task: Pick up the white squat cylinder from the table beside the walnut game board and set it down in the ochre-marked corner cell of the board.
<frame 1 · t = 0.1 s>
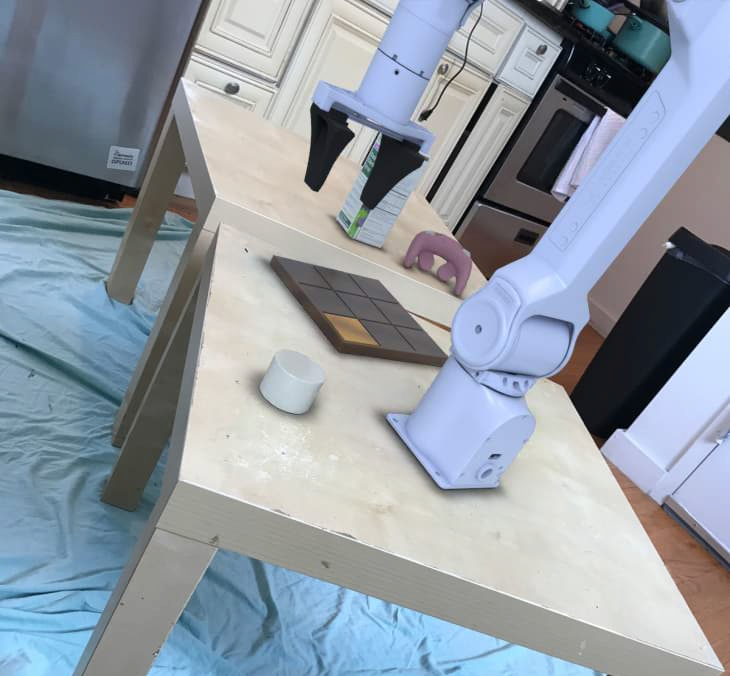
hand: (339, 196, 78), 10 cm above the table, tool pointing down, fingers open, 7 cm apart
video game controller: (430, 277, 109), on the table
syrup box: (357, 235, 107), on the table
white squat cylinder: (284, 396, 62), on the table
board: (358, 316, 83), on the table
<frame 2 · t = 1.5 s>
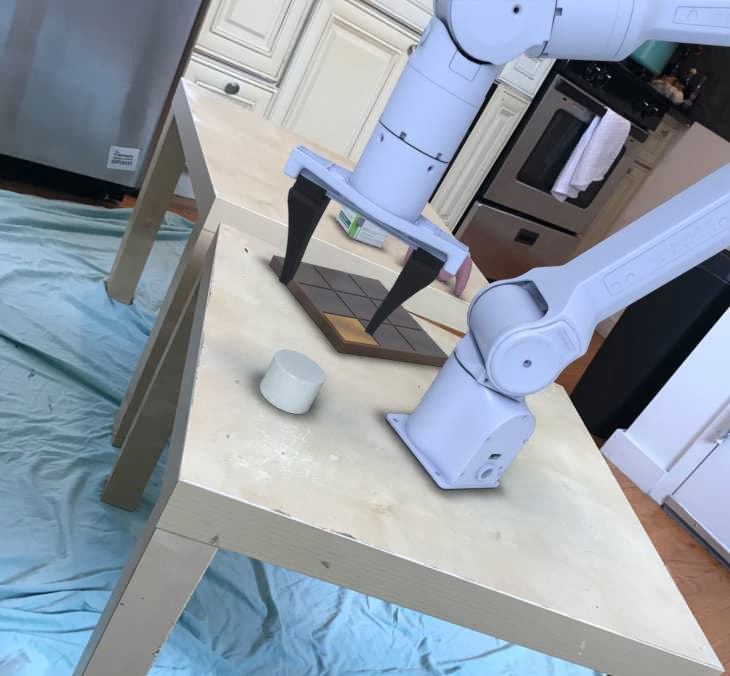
hand: (328, 305, 59), 8 cm above the table, tool pointing down, fingers open, 7 cm apart
nothing on the table moved.
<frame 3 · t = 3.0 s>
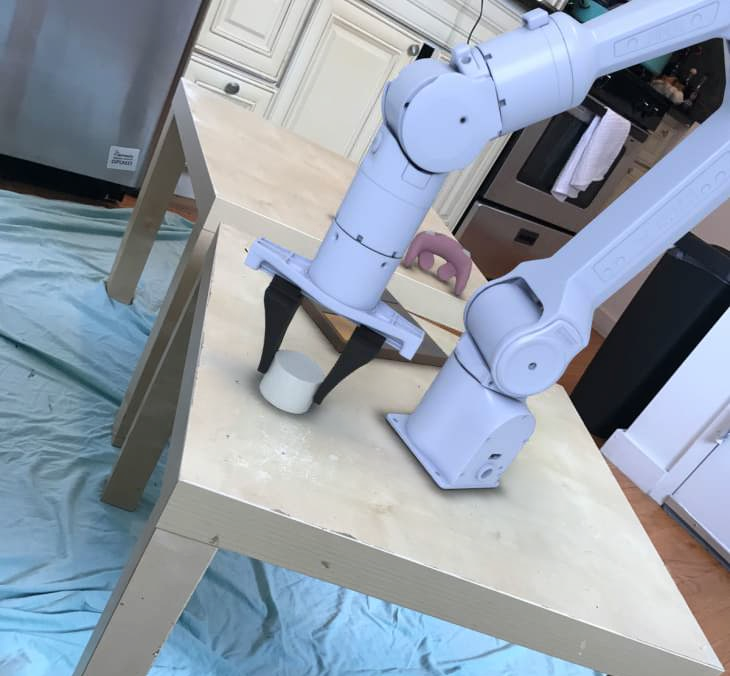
hand: (291, 383, 61), 1 cm above the table, tool pointing down, fingers closed on white squat cylinder, 4 cm apart
white squat cylinder: (284, 396, 62), on the table, touching gripper
everything else where it was.
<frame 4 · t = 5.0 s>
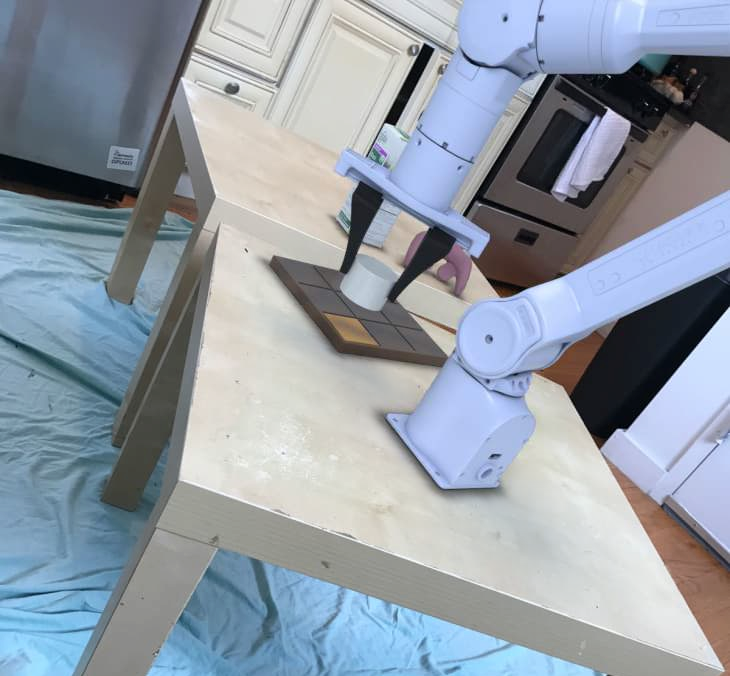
hand: (368, 284, 69), 8 cm above the table, tool pointing down, fingers closed on white squat cylinder, 4 cm apart
white squat cylinder: (360, 297, 70), point 6 cm above the table, touching gripper
everything else where it was.
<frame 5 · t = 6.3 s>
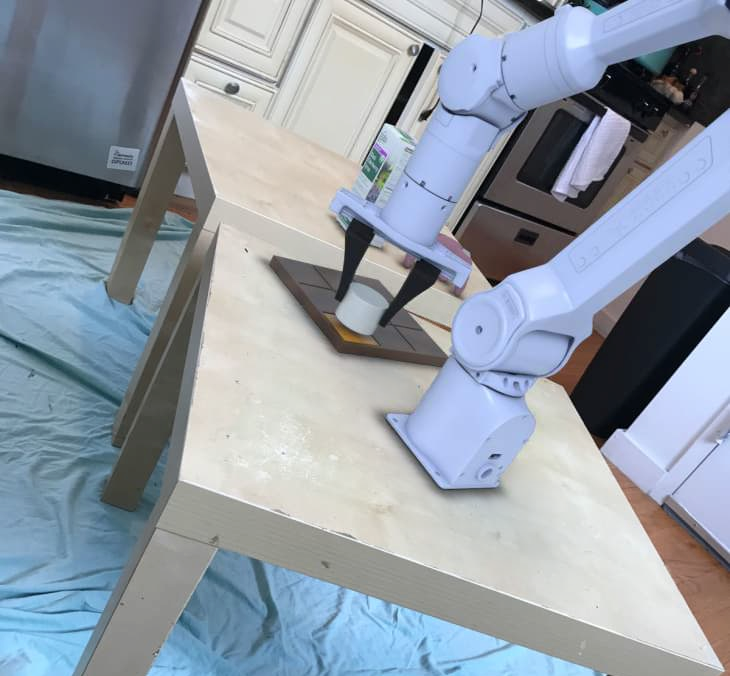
hand: (361, 310, 75), 4 cm above the table, tool pointing down, fingers closed on white squat cylinder, 4 cm apart
white squat cylinder: (354, 322, 76), point 2 cm above the table, touching gripper
everything else where it was.
when the fingers open (3 cm above the table, at t = 7.0 s): white squat cylinder stays where it is, resting on board.
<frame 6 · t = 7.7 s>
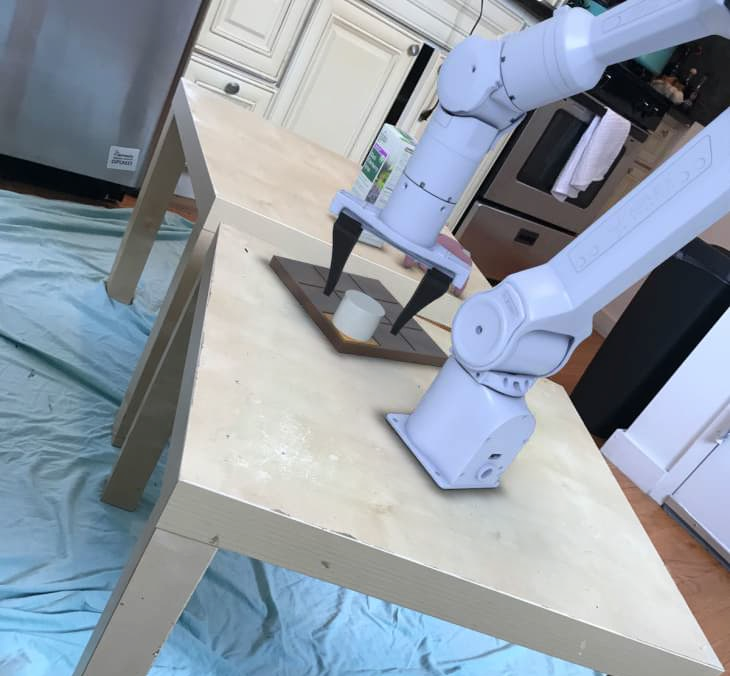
hand: (361, 311, 75), 3 cm above the table, tool pointing down, fingers open, 7 cm apart
white squat cylinder: (351, 329, 76), point 1 cm above the table, touching board
everything else where it was.
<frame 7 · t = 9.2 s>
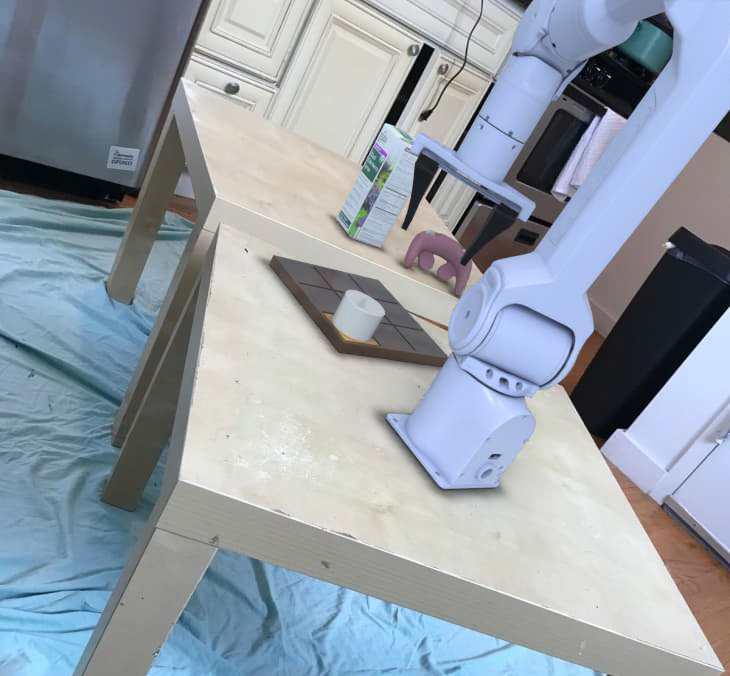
hand: (433, 245, 84), 9 cm above the table, tool pointing down, fingers open, 7 cm apart
nothing on the table moved.
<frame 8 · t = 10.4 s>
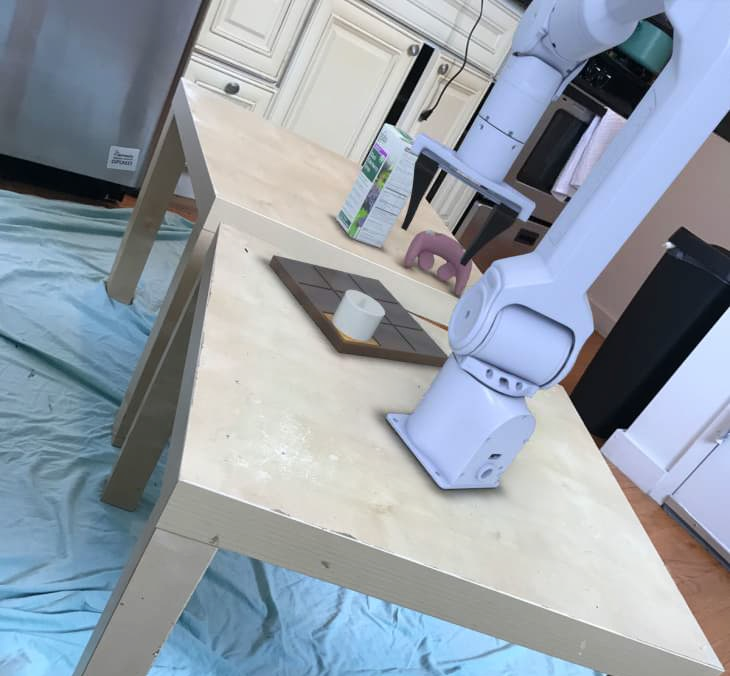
hand: (433, 245, 84), 9 cm above the table, tool pointing down, fingers open, 7 cm apart
nothing on the table moved.
at the end: white squat cylinder 0.0 cm from the target spot on the board, point 1.3 cm above the board's base; white squat cylinder tilted 0°; the gripper is holding nothing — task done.
